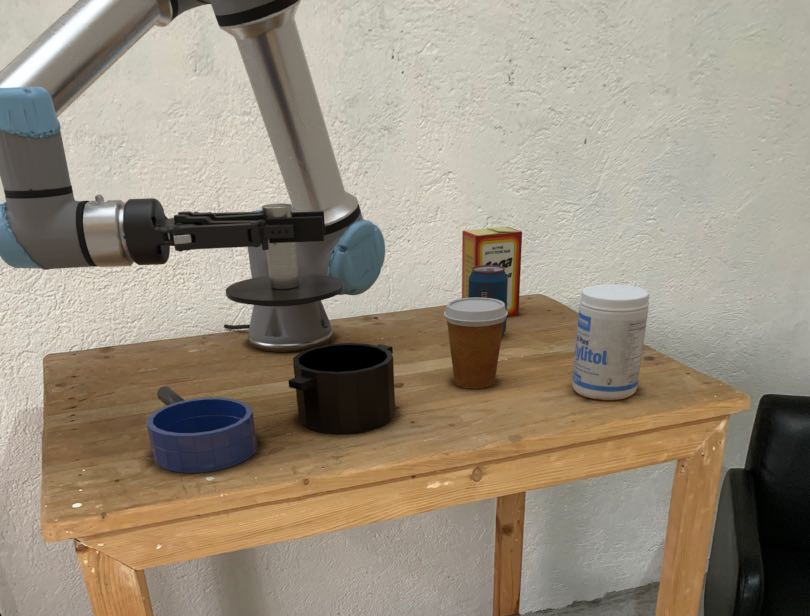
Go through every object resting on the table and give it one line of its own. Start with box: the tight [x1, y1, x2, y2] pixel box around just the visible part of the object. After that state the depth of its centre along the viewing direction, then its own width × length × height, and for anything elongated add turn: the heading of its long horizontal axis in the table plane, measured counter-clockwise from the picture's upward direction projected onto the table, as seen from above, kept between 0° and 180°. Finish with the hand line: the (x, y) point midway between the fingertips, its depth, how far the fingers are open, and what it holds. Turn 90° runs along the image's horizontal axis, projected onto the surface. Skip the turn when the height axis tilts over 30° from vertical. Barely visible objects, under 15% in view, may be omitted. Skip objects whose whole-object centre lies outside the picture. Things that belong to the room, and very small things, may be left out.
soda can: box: [468, 265, 508, 336], centre depth 143 cm, size 7×7×12 cm
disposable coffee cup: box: [443, 297, 508, 390], centre depth 121 cm, size 10×10×12 cm
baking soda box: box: [461, 226, 523, 317], centre depth 155 cm, size 10×6×16 cm
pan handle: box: [157, 385, 186, 406], centre depth 110 cm, size 10×2×2 cm, turn 32°
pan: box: [146, 396, 258, 474], centre depth 103 cm, size 13×13×5 cm
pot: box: [287, 342, 396, 435], centre depth 111 cm, size 14×19×8 cm
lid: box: [225, 202, 344, 306], centre depth 98 cm, size 15×15×11 cm
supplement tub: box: [571, 283, 650, 401], centre depth 115 cm, size 10×10×15 cm
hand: (323, 225), depth 97 cm, fingers closed on lid, 4 cm apart
